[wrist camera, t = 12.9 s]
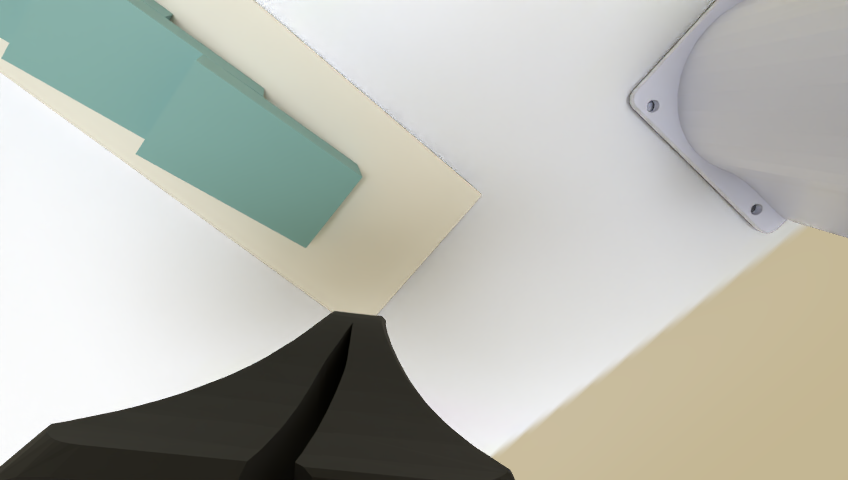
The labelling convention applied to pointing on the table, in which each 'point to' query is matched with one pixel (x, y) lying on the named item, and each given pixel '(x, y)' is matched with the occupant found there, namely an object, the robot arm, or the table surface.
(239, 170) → the teal green rectangular block
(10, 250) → the table surface
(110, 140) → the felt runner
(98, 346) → the table surface
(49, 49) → the tile
